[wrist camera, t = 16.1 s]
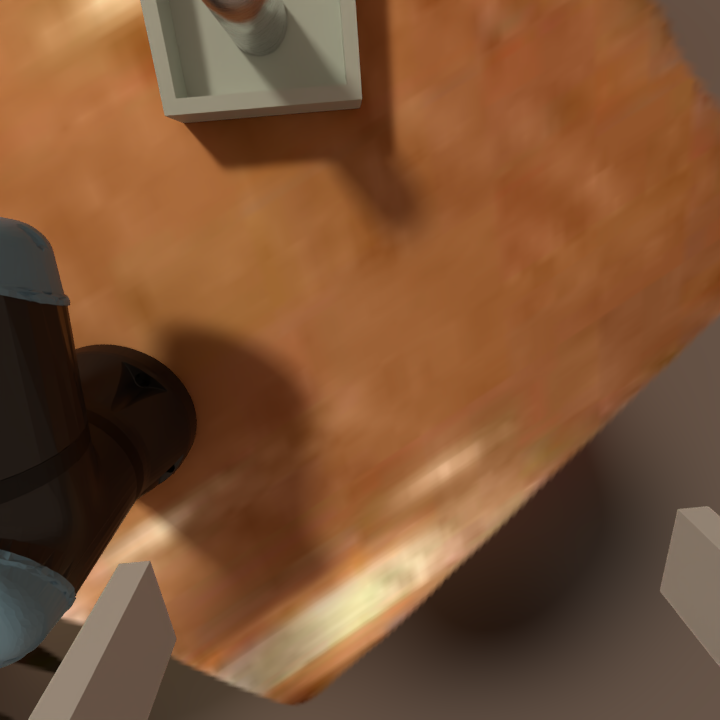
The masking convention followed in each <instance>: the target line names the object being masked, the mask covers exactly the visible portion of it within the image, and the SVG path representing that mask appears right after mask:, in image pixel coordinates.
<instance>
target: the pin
mask: <svg viewBox="0 0 720 720" xmlns="http://www.w3.org/2000/svg"><path fill="white" fill-rule="evenodd" d="M202 1H203V3H204V4H205V5H206V7H207V8H208V9H209V10H210V12H211V13H212V14H213V16H214V17H215V18H216V20H217V21H218V22H219V23H220V25H221V26H222V27H223V29H224V30H225V31H226V32H227V34H228V35H229V36H230V38H231V39H232V40H233V41H234V43H235V44H236V45H237V46H238V47H239V48H240V49H241V50H242V51H244V52H245V53H248V54H250V55H253V56H266V55H269V54H271V53H273V52H274V51H275V50H276V49H278V48H279V46H280V45H281V44H282V42H283V40H284V38H285V35H286V30H287V15H286V11H285V7H284V4H283V1H282V0H202Z"/></svg>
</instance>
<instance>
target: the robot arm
mask: <svg viewBox="0 0 720 720" xmlns="http://www.w3.org/2000/svg"><path fill="white" fill-rule="evenodd" d="M68 305H70V300H69V298H68V296H66V295H65V294H64V291H63V288H62V284H61V280H60V276H59V272H58V268H57V264H56V260H55V256H54V252H53V249H52V246H51V245H50V243H49V241H48V240H47V239H46V237H45V236H44V235H43V234H42V233H40V232H39V231H38V230H37V229H35V228H34V227H32V226H30V225H28V224H26V223H23V222H20V221H17V220H13V219H8V218H2V217H0V668H2V667H5V666H7V665H10V664H12V663H14V662H16V661H18V660H20V659H21V658H23V657H24V656H25V655H26V654H27V653H29V652H31V651H33V650H34V649H35V648H36V647H37V646H38V645H39V644H40V643H41V642H42V641H43V640H44V639H45V637H46V636H47V635H48V634H49V632H50V631H51V630H52V628H53V627H54V626H55V625H56V623H57V622H58V621H59V620H60V618H61V617H62V616H63V614H64V613H65V612H66V611H67V610H69V609H70V607H71V606H72V605H73V603H74V601H75V599H76V597H75V596H76V594H77V592H78V591H79V589H80V587H81V586H82V584H83V583H84V581H85V580H86V578H87V576H88V575H89V573H90V572H91V570H92V569H93V567H94V565H95V564H96V562H97V561H98V559H99V558H100V556H101V555H102V553H103V551H104V550H105V548H106V547H107V545H108V544H109V542H110V540H111V539H112V537H113V536H114V534H115V533H116V531H117V529H118V528H119V526H120V525H121V523H122V522H123V520H124V519H125V517H126V515H127V514H128V512H129V511H130V509H131V507H132V506H133V504H134V503H135V501H136V500H137V499H138V498H140V497H141V496H143V495H144V494H146V493H147V492H149V491H150V490H152V489H153V488H154V487H156V486H157V485H159V484H160V483H162V482H163V481H165V480H166V479H167V478H169V477H170V476H171V475H172V474H173V473H174V472H175V471H176V470H177V469H178V468H179V466H180V465H181V464H182V462H183V461H184V459H185V457H186V455H187V454H188V452H189V450H190V448H191V446H192V444H193V441H194V438H195V434H196V413H195V409H194V405H193V403H192V400H191V398H190V395H189V394H188V392H187V390H186V388H185V387H184V385H183V384H182V383H181V381H180V380H179V379H178V378H177V377H176V376H175V375H174V374H173V373H172V372H171V371H170V370H169V369H168V368H167V367H166V366H164V365H163V364H162V363H160V362H159V361H157V360H156V359H154V358H152V357H150V356H148V355H146V354H144V353H142V352H139V351H137V350H134V349H130V348H127V347H122V346H116V345H91V346H86V347H82V348H78V349H75V345H74V340H73V334H72V328H71V323H70V317H69V312H68ZM660 592H661V593H662V594H663V596H664V597H665V598H666V599H667V601H668V602H669V603H670V604H671V606H672V607H673V608H674V609H675V611H676V612H677V613H678V615H679V616H680V617H681V619H682V620H683V621H684V622H685V623H686V625H687V626H688V627H689V629H690V630H691V631H692V633H693V634H694V635H695V636H696V637H697V639H698V640H699V641H700V643H701V644H702V645H703V647H704V648H705V649H706V650H707V651H708V653H709V654H710V655H711V657H712V658H713V659H714V660H715V662H716V663H717V664H718V665H719V667H720V516H719V515H718V514H716V513H715V512H714V511H713V510H712V509H711V508H710V507H708V506H707V507H696V508H686V509H678V510H677V515H676V519H675V524H674V528H673V533H672V538H671V542H670V547H669V551H668V556H667V561H666V565H665V569H664V574H663V579H662V583H661V588H660ZM175 642H176V636H175V633H174V630H173V627H172V624H171V621H170V618H169V615H168V612H167V609H166V606H165V603H164V600H163V597H162V594H161V591H160V589H159V586H158V583H157V580H156V577H155V574H154V571H153V568H152V565H151V562H150V561H144V562H133V563H123V564H119V565H118V567H117V568H116V570H115V572H114V573H113V575H112V577H111V579H110V580H109V582H108V584H107V585H106V587H105V589H104V591H103V592H102V594H101V596H100V597H99V599H98V601H97V603H96V604H95V606H94V608H93V609H92V611H91V613H90V615H89V616H88V618H87V620H86V621H85V623H84V625H83V627H82V628H81V630H80V632H79V633H78V635H77V637H76V639H75V640H74V642H73V644H72V645H71V647H70V649H69V651H68V652H67V654H66V656H65V657H64V659H63V661H62V663H61V664H60V666H59V668H58V669H57V671H56V673H55V675H54V676H53V678H52V680H51V682H50V683H49V685H48V687H47V689H46V690H45V692H44V694H43V695H42V697H41V699H40V700H39V702H38V704H37V706H36V707H35V709H34V711H33V712H32V714H31V716H30V717H29V719H28V720H147V719H148V717H149V714H150V711H151V708H152V706H153V703H154V700H155V697H156V694H157V691H158V689H159V686H160V683H161V680H162V678H163V675H164V672H165V669H166V667H167V663H168V661H169V658H170V656H171V653H172V650H173V647H174V645H175Z"/></svg>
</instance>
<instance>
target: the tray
mask: <svg viewBox="0 0 720 720" xmlns="http://www.w3.org/2000/svg"><path fill="white" fill-rule="evenodd" d="M140 1H141V6H142V11H143V15H144V20H145V25H146V29H147V34H148V39H149V43H150V48H151V53H152V58H153V62H154V67H155V72H156V76H157V81H158V86H159V90H160V95H161V100H162V104H163V109H164V114H165V116H167V117H169V118H172V119H174V120H177V121H179V122H182V123H191V122H202V121H214V120H226V119H238V118H250V117H261V116H273V115H285V114H297V113H308V112H320V111H332V110H344V109H356V108H360V106H361V102H362V89H361V74H360V60H359V45H358V30H357V16H356V1H355V0H282V1H283V4H284V7H285V11H286V15H287V30H286V35H285V38H284V40H283V42H282V44H281V45H280V46H279V48H278V49H276V50H275V51H274V52H273V53H271V54H269V55H266V56H253V55H250V54H248V53H245V52H244V51H242V50H241V49H240V48H239V47H238V46H237V45H236V44H235V43H234V41H233V40H232V39H231V38H230V36H229V35H228V34H227V32H226V31H225V30H224V29H223V27H222V26H221V25H220V23H219V22H218V21H217V20H216V18H215V17H214V16H213V14H212V13H211V12H210V10H209V9H208V8H207V7H206V5H205V4H204V3H203V1H202V0H140Z"/></svg>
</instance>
